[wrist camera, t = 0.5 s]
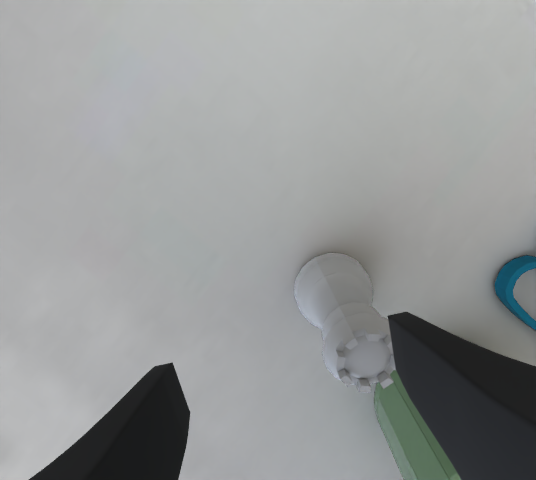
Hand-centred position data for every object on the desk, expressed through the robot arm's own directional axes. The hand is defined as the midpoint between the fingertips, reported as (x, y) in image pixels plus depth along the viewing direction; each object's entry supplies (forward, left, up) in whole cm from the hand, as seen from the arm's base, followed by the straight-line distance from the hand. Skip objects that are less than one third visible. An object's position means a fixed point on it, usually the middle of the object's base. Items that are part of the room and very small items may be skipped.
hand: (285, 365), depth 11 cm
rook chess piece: (-1, -3, -10) cm, 10 cm away
